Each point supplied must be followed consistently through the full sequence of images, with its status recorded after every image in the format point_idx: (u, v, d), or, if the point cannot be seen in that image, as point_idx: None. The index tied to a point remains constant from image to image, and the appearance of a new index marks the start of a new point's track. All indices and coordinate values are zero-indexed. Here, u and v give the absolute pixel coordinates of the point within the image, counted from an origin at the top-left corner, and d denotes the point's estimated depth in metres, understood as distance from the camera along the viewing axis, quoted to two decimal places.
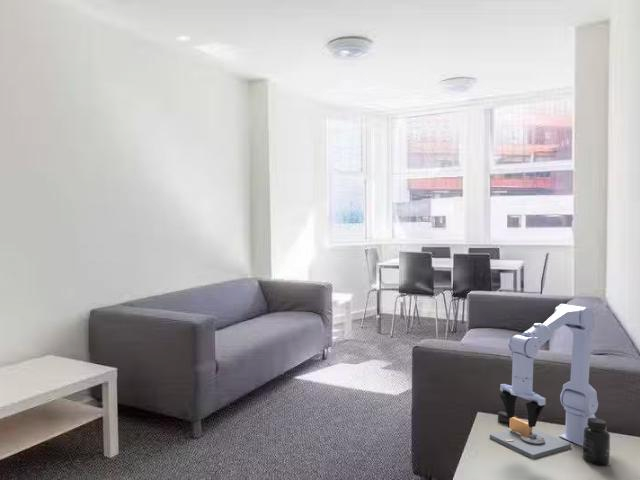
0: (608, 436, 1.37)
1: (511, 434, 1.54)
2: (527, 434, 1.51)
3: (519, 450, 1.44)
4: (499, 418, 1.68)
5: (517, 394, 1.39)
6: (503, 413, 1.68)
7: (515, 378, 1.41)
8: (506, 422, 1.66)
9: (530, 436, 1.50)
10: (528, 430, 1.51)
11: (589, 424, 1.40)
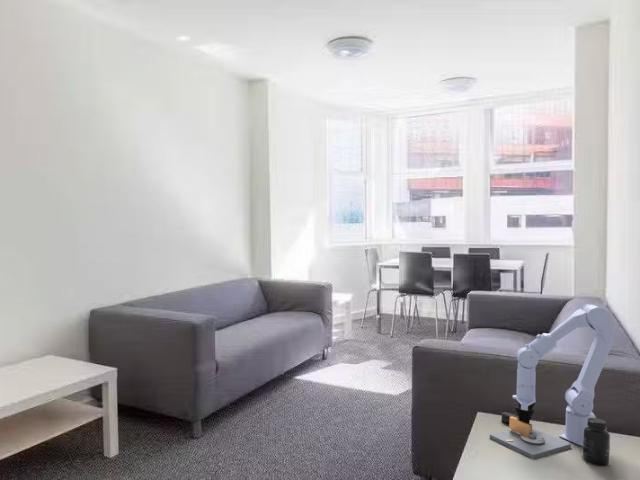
0: (608, 436, 1.37)
1: (511, 434, 1.54)
2: (527, 434, 1.51)
3: (519, 450, 1.44)
4: (503, 419, 1.68)
5: (515, 397, 1.60)
6: (507, 414, 1.68)
7: None
8: None
9: (530, 436, 1.50)
10: (528, 430, 1.51)
11: (589, 424, 1.40)
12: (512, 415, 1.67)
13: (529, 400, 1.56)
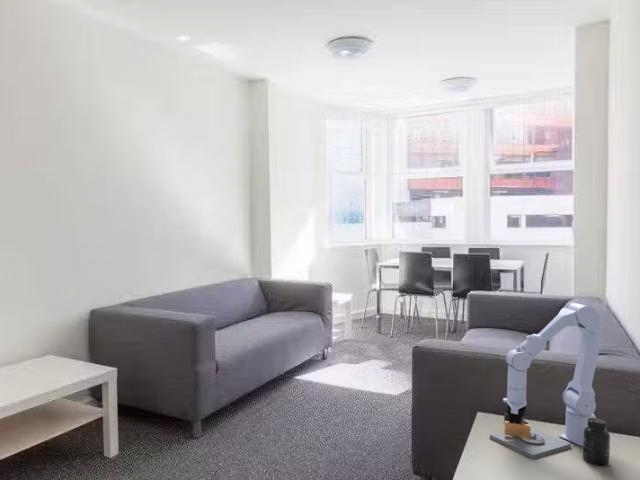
0: (608, 436, 1.37)
1: None
2: (528, 435, 1.50)
3: (519, 450, 1.44)
4: (505, 419, 1.68)
5: (505, 400, 1.56)
6: None
7: None
8: None
9: (533, 437, 1.49)
10: (529, 431, 1.50)
11: (589, 424, 1.40)
12: None
13: (520, 403, 1.53)
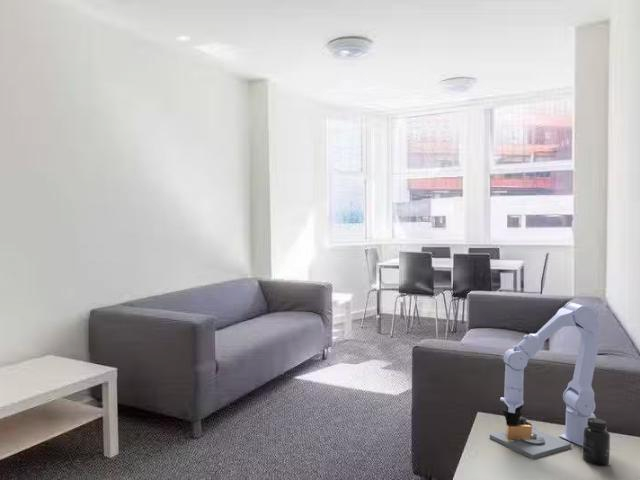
0: (608, 436, 1.37)
1: None
2: (529, 436, 1.50)
3: (519, 450, 1.44)
4: None
5: (502, 400, 1.57)
6: None
7: None
8: None
9: (534, 437, 1.49)
10: (530, 432, 1.50)
11: (589, 424, 1.40)
12: None
13: (517, 402, 1.53)
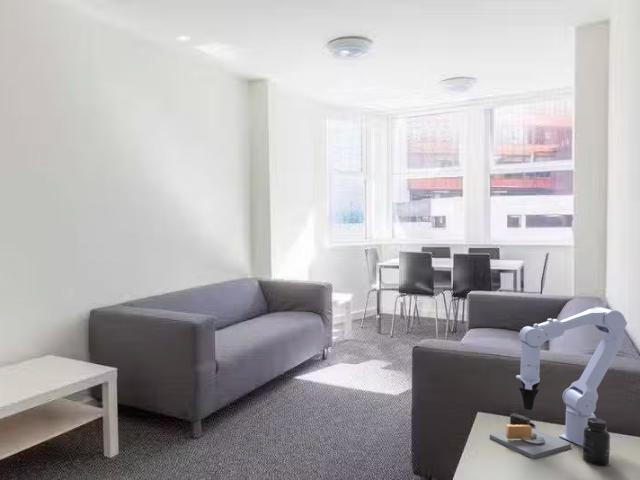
0: (608, 436, 1.37)
1: None
2: (529, 436, 1.50)
3: (519, 450, 1.44)
4: (511, 420, 1.67)
5: (518, 377, 1.56)
6: (515, 415, 1.67)
7: None
8: (518, 424, 1.65)
9: (534, 437, 1.49)
10: (530, 432, 1.50)
11: (589, 424, 1.40)
12: (521, 416, 1.66)
13: (533, 380, 1.52)
